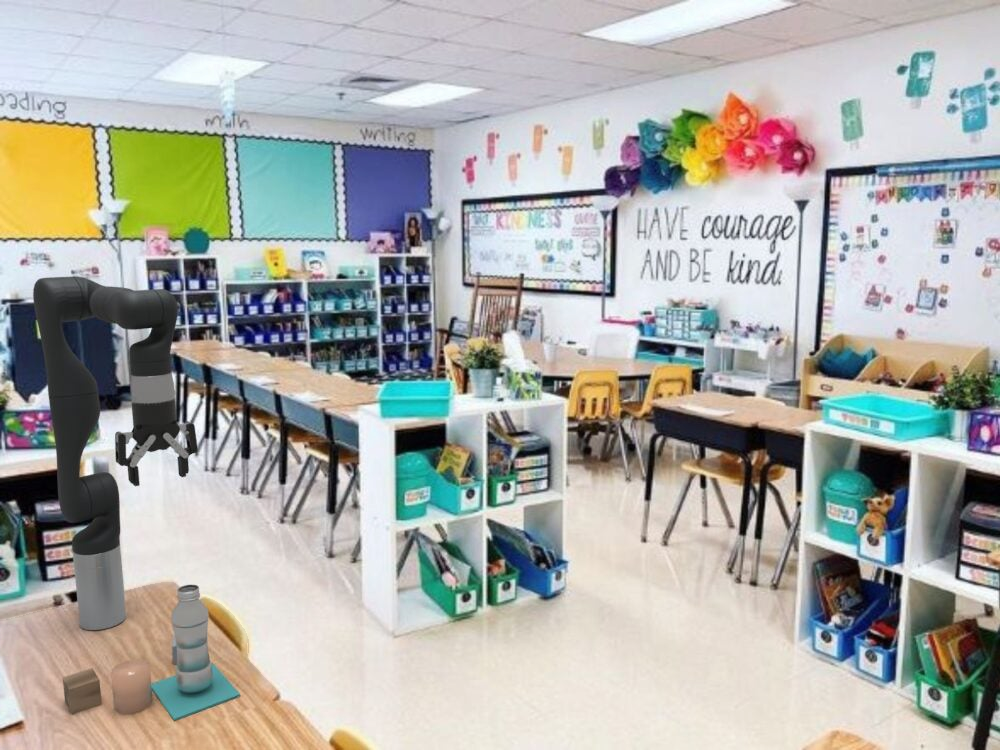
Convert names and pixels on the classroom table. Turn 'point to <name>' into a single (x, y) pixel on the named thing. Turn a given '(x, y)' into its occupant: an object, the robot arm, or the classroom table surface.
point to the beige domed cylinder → (131, 686)
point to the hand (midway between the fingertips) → (159, 480)
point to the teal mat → (193, 695)
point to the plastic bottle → (191, 641)
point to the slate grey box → (174, 651)
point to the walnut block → (82, 691)
